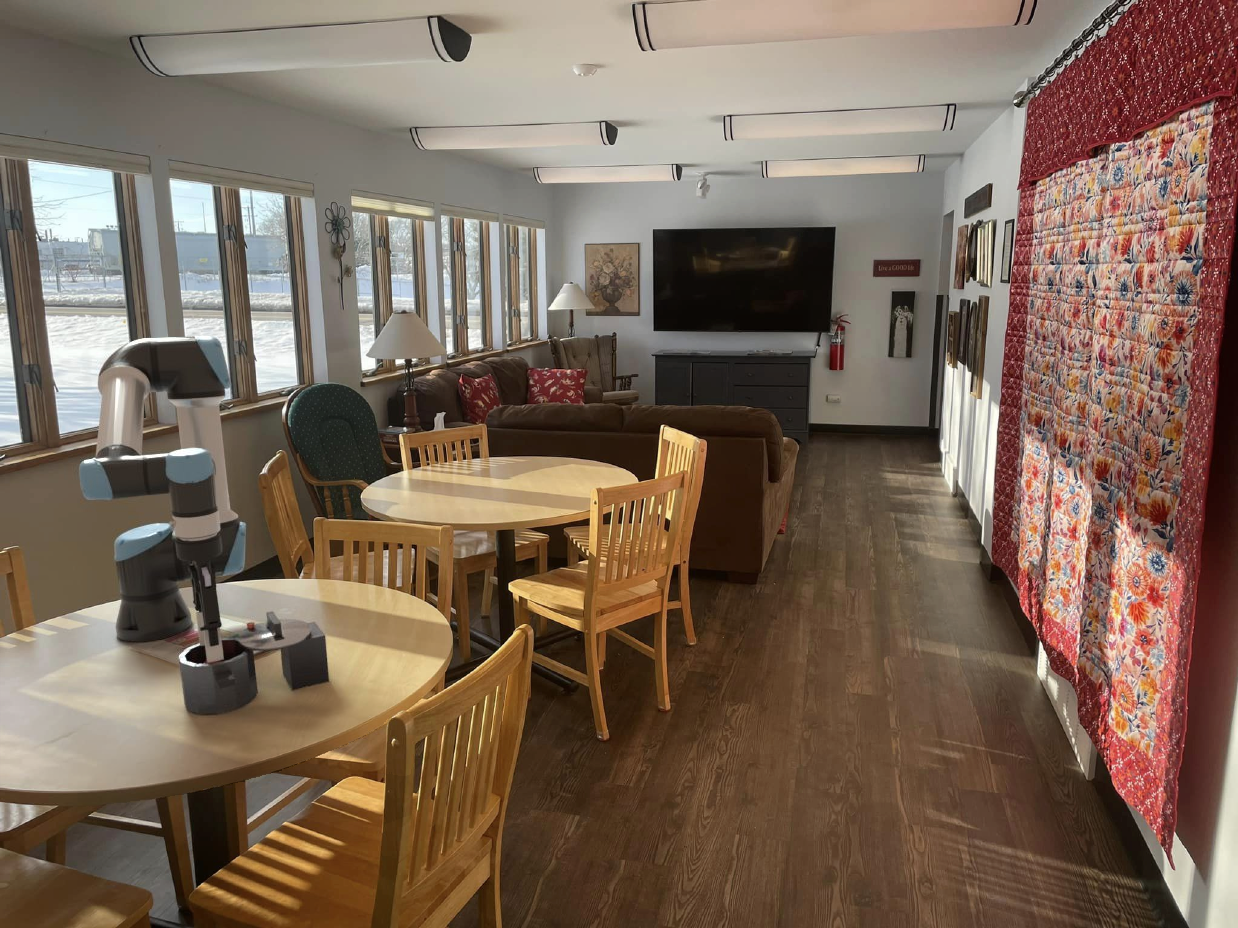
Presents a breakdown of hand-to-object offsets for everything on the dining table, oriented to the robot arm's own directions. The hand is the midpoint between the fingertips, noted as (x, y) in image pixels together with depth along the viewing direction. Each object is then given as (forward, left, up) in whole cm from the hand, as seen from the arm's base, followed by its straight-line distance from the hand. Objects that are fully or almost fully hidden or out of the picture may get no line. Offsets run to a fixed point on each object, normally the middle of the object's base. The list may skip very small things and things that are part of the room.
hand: (211, 651), depth 166 cm
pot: (0, +1, -10) cm, 10 cm away
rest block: (0, +16, -10) cm, 19 cm away
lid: (0, +11, 0) cm, 11 cm away
